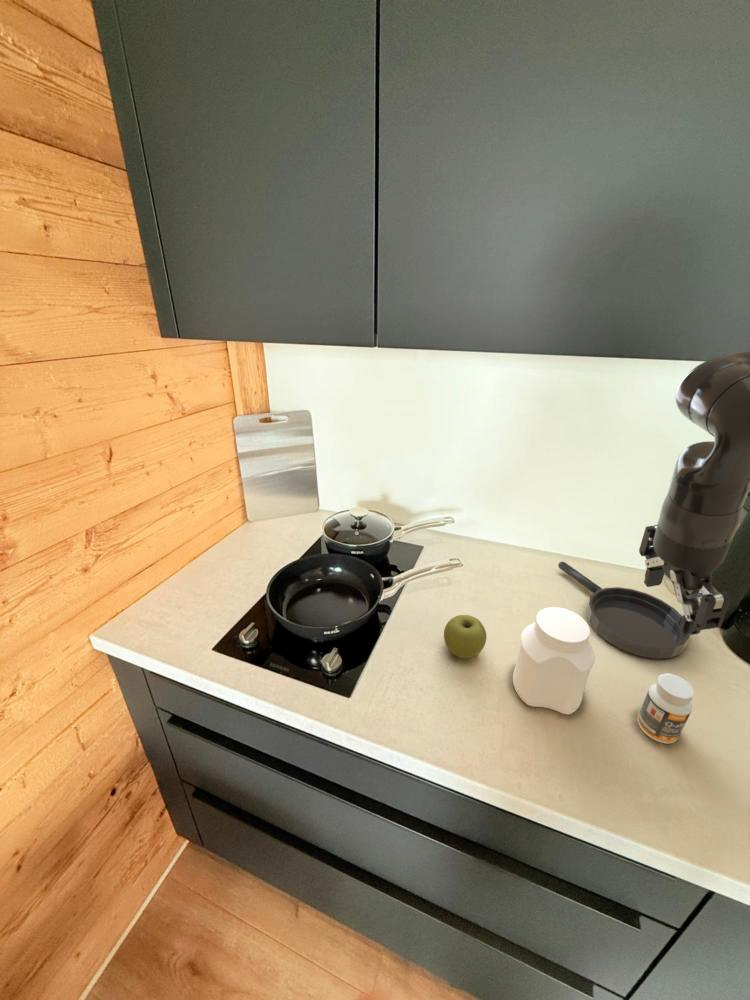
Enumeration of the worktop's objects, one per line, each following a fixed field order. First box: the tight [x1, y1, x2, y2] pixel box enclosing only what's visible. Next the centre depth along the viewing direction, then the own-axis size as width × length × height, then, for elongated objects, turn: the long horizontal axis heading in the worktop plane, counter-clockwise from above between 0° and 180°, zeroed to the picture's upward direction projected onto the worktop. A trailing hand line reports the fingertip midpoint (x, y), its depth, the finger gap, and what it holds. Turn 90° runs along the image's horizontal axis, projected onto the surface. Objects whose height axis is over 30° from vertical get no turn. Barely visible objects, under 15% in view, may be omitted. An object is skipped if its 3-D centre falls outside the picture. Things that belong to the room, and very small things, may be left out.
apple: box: [443, 614, 487, 659], centre depth 82 cm, size 8×8×7 cm
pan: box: [585, 586, 691, 660], centre depth 88 cm, size 18×18×3 cm
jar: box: [512, 606, 596, 716], centre depth 72 cm, size 12×10×15 cm
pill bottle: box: [637, 672, 695, 745], centre depth 66 cm, size 6×6×10 cm
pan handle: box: [557, 561, 603, 594], centre depth 101 cm, size 2×13×2 cm, turn 22°
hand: (668, 606), depth 61 cm, fingers open, 8 cm apart
